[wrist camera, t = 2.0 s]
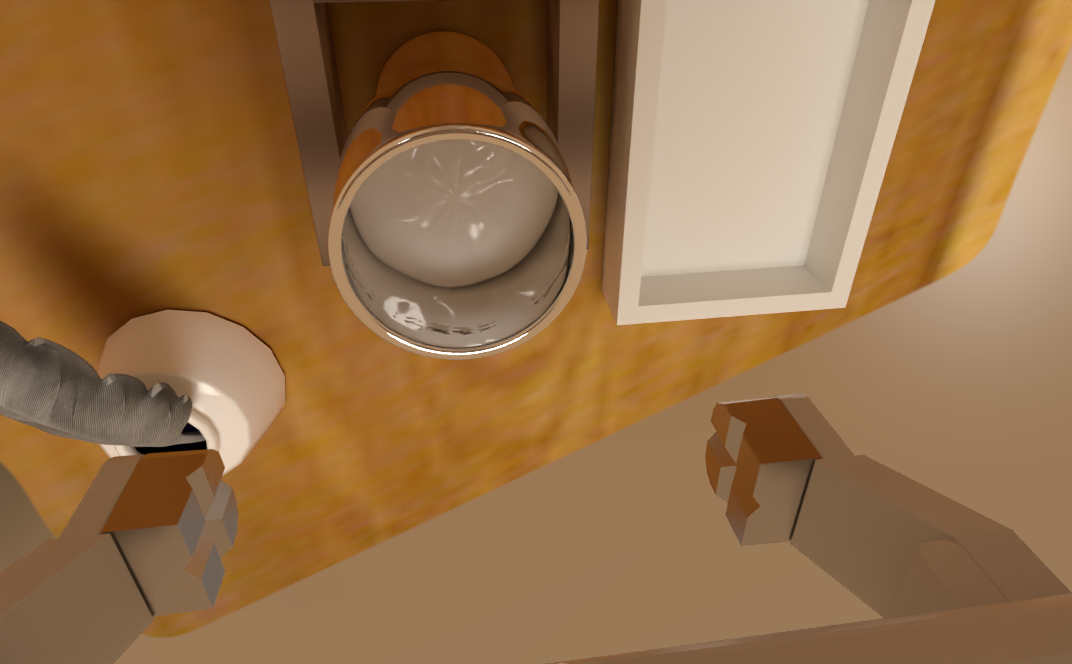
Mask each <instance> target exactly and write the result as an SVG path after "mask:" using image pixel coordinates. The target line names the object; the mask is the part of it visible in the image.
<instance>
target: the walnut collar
mask: <svg viewBox="0 0 1072 664" xmlns="http://www.w3.org/2000/svg"><path fill="white" fill-rule="evenodd" d="M269 1H270V6H271V11H272V16H273V21H274V26H275V31H276V36H277V41H278V46H279V51H280V56H281V61H282V66H283V71H284V75H285V80H286V85H287V90H288V95H289V100H290V105H291V110H292V115H293V120H294V125H295V130H296V135H297V140H298V145H299V150H300V155H301V160H302V165H303V170H304V175H305V180H306V185H307V190H308V195H309V200H310V205H311V210H312V215H313V220H314V225H315V230H316V235H317V240H318V245H319V250H320V255H321V260H322V265H323V266H330V263H329V256H328V228H329V222H330V217H331V213H332V202H333V194H334V185H335V179H336V174H337V170H338V166H339V162H340V158H341V154H342V151H343V148H344V146H345V143H346V141H347V133H346V127H345V121H344V115H343V108H342V102H341V96H340V89H339V83H338V77H337V71H336V64H335V58H334V52H333V46H332V39H331V33H330V27H329V20H328V14H327V8H326V3H337V2H386V1H435V0H269ZM598 18H599V0H548V94H547V125H548V127H549V128H550V130H551V131H552V133H553V135H554V136H555V138H556V140H557V142H558V145H559V147H560V149H561V152H562V154H563V156H564V159H565V161H566V163H567V166H568V169H569V172H570V176H571V179H572V182H573V186H574V189H575V193H576V196H577V198H578V200H579V203H580V206H581V209H582V212H583V216H584V220H585V226H586V235H587V249H588V245H589V222H590V199H591V177H592V154H593V131H594V108H595V86H596V63H597V40H598Z"/></svg>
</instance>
